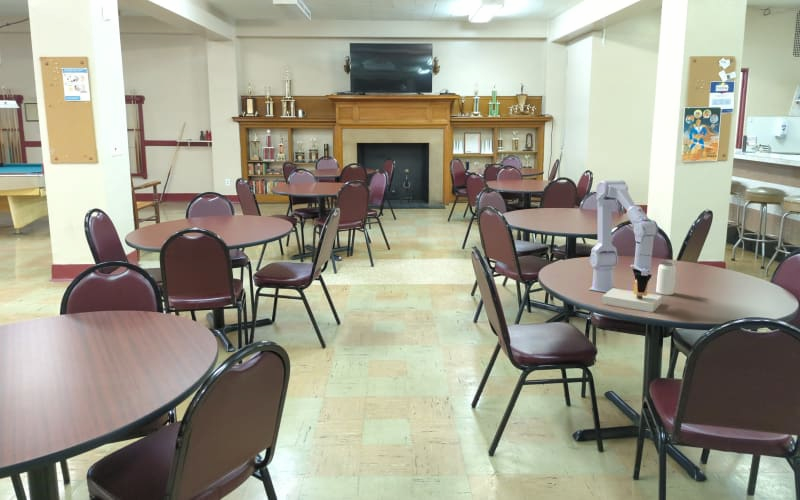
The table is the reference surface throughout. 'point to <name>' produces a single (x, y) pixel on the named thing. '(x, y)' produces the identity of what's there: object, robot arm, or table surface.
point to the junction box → (631, 300)
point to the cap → (637, 290)
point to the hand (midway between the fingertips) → (640, 290)
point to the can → (666, 278)
